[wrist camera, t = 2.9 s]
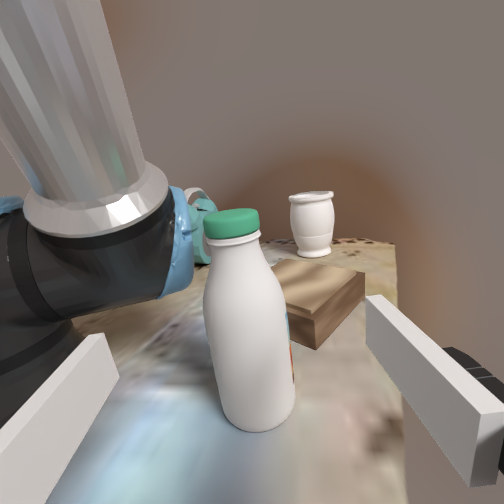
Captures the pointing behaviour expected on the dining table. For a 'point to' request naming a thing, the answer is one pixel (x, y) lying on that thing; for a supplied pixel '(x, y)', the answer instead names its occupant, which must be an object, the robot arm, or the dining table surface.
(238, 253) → the milk bottle
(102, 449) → the dining table surface
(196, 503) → the dining table surface
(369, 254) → the dining table surface
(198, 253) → the alarm clock
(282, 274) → the walnut stand
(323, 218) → the jar
